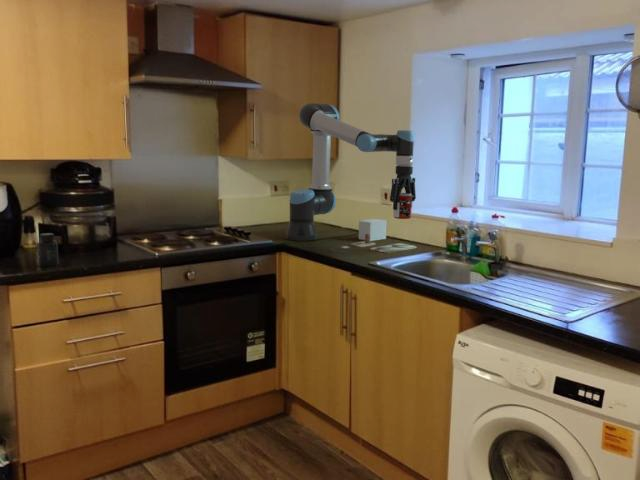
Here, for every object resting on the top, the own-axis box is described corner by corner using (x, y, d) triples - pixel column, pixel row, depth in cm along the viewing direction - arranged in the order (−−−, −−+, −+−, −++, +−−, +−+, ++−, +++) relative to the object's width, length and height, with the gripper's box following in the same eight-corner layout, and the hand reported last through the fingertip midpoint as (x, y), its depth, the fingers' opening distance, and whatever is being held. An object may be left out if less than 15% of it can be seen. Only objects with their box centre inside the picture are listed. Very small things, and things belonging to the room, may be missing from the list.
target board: (370, 249, 272) (370, 247, 271) (399, 244, 285) (399, 242, 285) (387, 253, 264) (387, 250, 264) (416, 248, 278) (416, 245, 278)
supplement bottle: (36, 264, 231) (34, 233, 229) (56, 262, 235) (54, 232, 233) (41, 268, 225) (39, 236, 223) (60, 266, 229) (59, 234, 227)
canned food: (392, 218, 273) (393, 194, 271) (394, 216, 280) (395, 192, 278) (410, 219, 271) (411, 194, 269) (411, 217, 279) (412, 193, 277)
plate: (351, 245, 282) (351, 235, 281) (365, 242, 288) (366, 232, 288) (360, 247, 277) (360, 236, 277) (375, 244, 284) (375, 234, 283)
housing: (358, 238, 299) (359, 220, 297) (374, 236, 307) (375, 218, 305) (370, 241, 293) (370, 222, 292) (385, 238, 301) (386, 220, 300)
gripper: (395, 166, 262) (393, 219, 266) (425, 165, 276) (423, 215, 280) (382, 165, 267) (380, 217, 271) (412, 164, 281) (410, 213, 285)
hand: (402, 216), depth 276 cm, fingers closed on canned food, 8 cm apart
